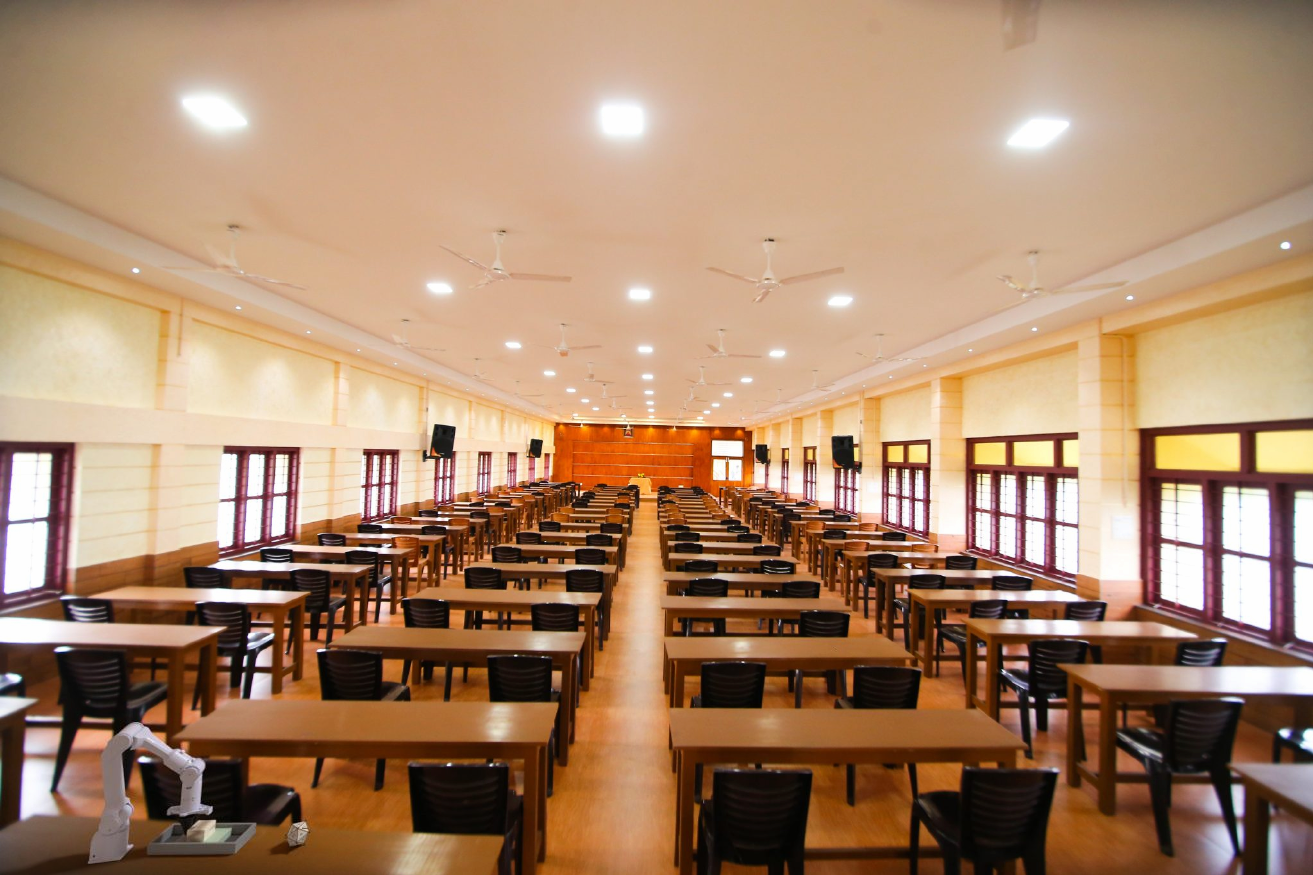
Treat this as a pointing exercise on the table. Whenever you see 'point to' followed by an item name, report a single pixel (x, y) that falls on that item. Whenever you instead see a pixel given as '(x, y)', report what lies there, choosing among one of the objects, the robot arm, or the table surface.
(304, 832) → the game die
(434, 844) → the table surface
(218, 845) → the gray tray
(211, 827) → the cream block
